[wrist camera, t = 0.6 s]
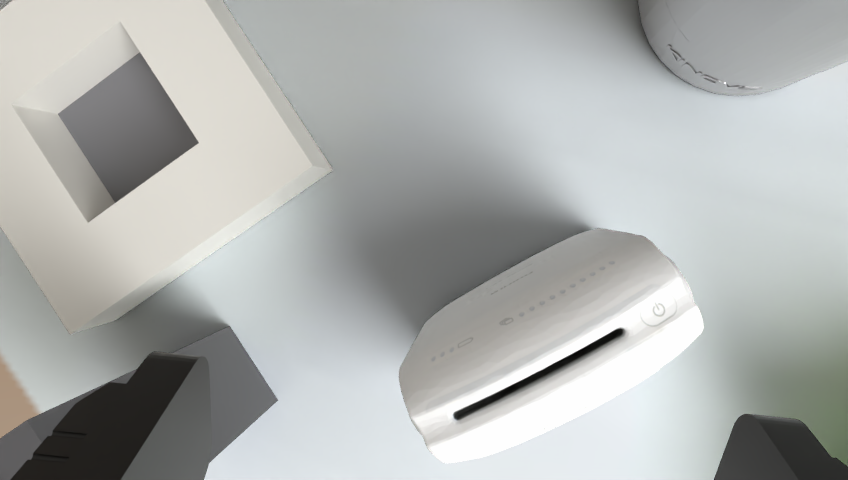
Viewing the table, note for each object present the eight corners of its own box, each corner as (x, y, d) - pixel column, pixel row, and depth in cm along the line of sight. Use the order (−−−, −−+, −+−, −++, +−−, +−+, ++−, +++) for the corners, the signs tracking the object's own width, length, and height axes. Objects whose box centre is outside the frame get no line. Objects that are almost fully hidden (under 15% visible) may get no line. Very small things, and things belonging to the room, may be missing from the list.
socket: (178, -67, 31) (139, -101, 28) (333, 170, 31) (313, 166, 28) (-30, 96, 33) (-92, 83, 29) (115, 320, 33) (69, 334, 29)
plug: (229, 326, 32) (-43, 452, 16) (277, 400, 32) (53, 604, 16) (161, 371, 33) (-171, 539, 16) (208, 444, 33) (-78, 686, 16)
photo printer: (602, 213, 30) (677, 220, 17) (647, 292, 30) (753, 355, 17) (414, 316, 31) (360, 389, 19) (457, 392, 31) (431, 515, 19)
